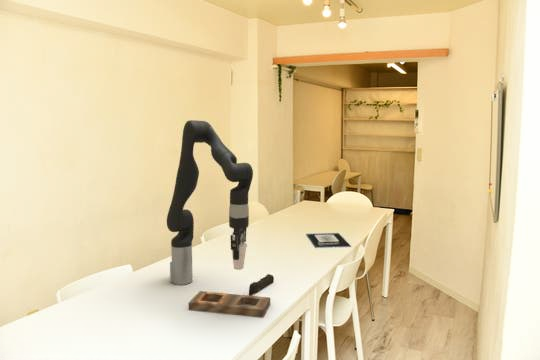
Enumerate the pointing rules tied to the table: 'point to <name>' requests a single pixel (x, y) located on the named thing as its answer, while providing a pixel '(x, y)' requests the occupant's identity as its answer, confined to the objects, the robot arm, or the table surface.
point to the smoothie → (240, 257)
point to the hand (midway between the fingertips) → (238, 256)
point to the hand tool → (260, 284)
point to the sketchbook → (327, 240)
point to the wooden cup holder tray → (230, 303)
